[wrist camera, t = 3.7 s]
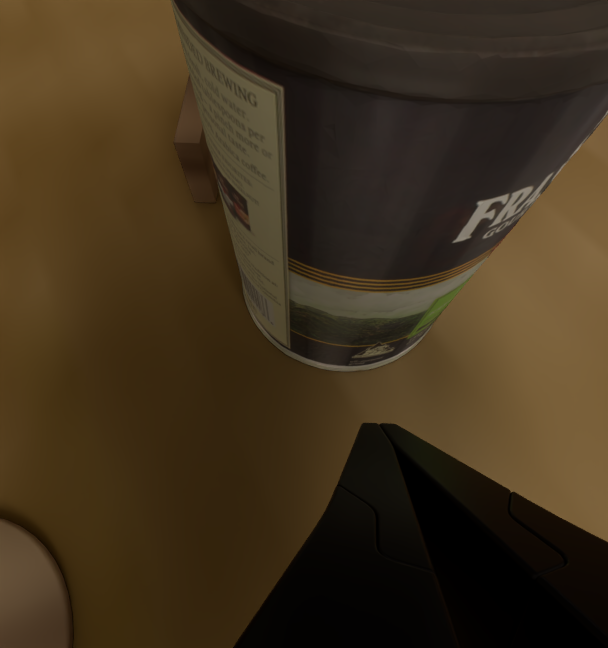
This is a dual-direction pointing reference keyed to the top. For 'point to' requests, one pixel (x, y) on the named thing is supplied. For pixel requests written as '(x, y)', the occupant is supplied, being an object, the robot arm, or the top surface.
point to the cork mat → (31, 593)
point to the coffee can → (383, 150)
